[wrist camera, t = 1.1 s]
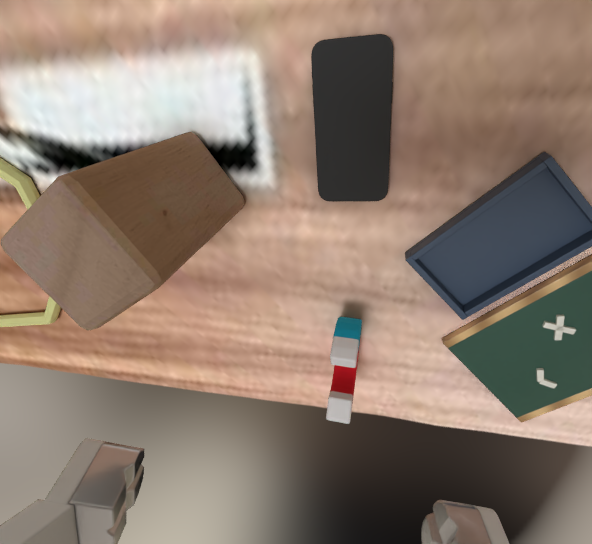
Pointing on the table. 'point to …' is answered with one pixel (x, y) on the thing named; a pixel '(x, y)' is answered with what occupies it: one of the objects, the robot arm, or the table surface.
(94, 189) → the wooden block
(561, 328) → the chalk
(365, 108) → the phone
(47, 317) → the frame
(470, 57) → the table surface
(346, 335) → the magnet
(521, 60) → the table surface
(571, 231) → the eraser tray
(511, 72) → the table surface
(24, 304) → the table surface
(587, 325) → the chalkboard
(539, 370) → the chalk chevron
